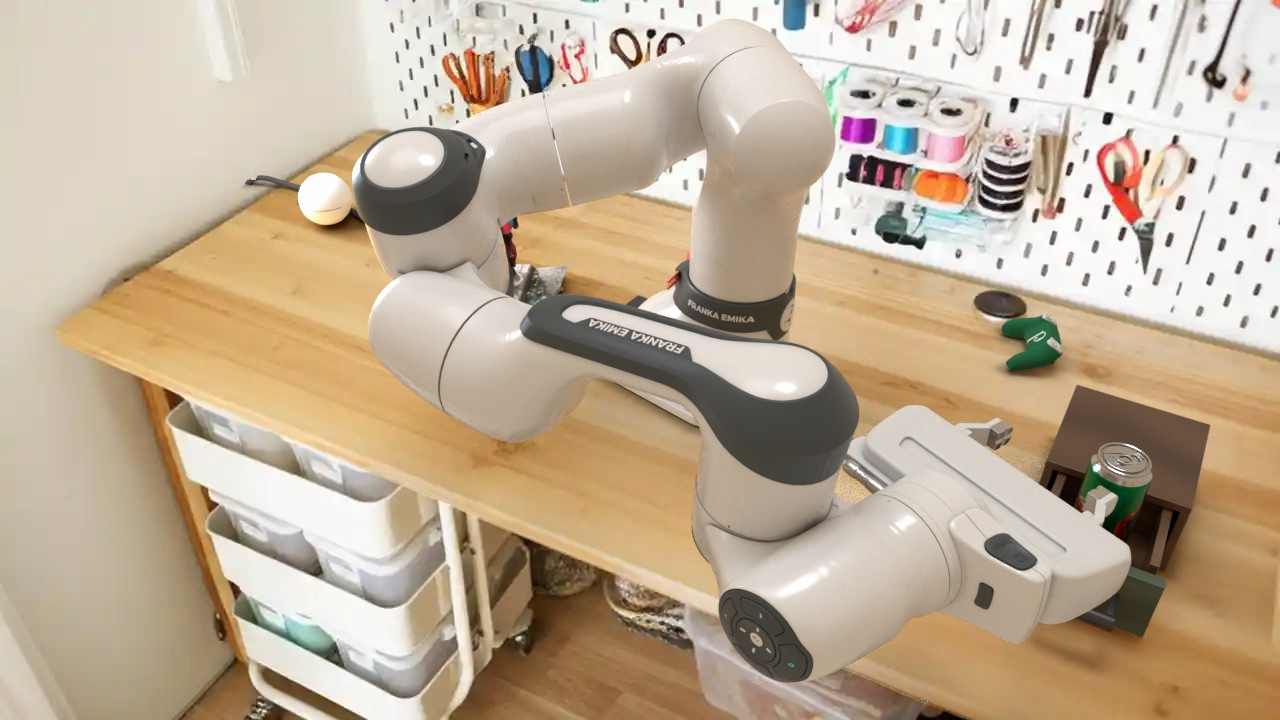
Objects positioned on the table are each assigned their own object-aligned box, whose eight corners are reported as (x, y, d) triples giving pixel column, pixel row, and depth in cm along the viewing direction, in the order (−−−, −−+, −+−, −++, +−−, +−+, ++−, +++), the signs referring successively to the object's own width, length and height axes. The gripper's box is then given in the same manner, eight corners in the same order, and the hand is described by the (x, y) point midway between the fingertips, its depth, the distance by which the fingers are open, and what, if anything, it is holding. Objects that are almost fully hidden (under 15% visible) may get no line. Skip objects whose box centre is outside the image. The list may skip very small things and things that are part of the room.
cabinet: (1164, 572, 97) (1192, 509, 92) (1026, 522, 102) (1046, 460, 97) (1184, 486, 106) (1210, 424, 102) (1057, 444, 112) (1076, 384, 107)
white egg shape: (323, 206, 153) (314, 160, 149) (366, 215, 151) (358, 169, 147) (279, 237, 146) (269, 189, 142) (324, 247, 144) (314, 199, 139)
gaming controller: (1022, 388, 122) (1069, 363, 119) (1003, 366, 121) (1051, 341, 118) (1015, 344, 130) (1060, 320, 127) (998, 323, 129) (1042, 298, 125)
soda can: (1050, 538, 97) (1083, 440, 90) (1102, 536, 98) (1139, 437, 91) (1072, 579, 93) (1109, 480, 86) (1127, 576, 94) (1168, 477, 87)
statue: (470, 315, 133) (443, 210, 124) (490, 276, 140) (466, 174, 131) (553, 315, 130) (532, 208, 122) (569, 275, 138) (550, 171, 129)
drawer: (1134, 671, 87) (1157, 621, 83) (996, 616, 91) (1012, 566, 88) (1164, 546, 98) (1185, 497, 95) (1040, 503, 103) (1056, 455, 99)
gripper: (821, 485, 82) (942, 422, 88) (1036, 662, 69) (1160, 572, 75) (831, 423, 78) (956, 362, 85) (1060, 597, 65) (1188, 508, 71)
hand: (1054, 462), depth 80 cm, fingers open, 8 cm apart
